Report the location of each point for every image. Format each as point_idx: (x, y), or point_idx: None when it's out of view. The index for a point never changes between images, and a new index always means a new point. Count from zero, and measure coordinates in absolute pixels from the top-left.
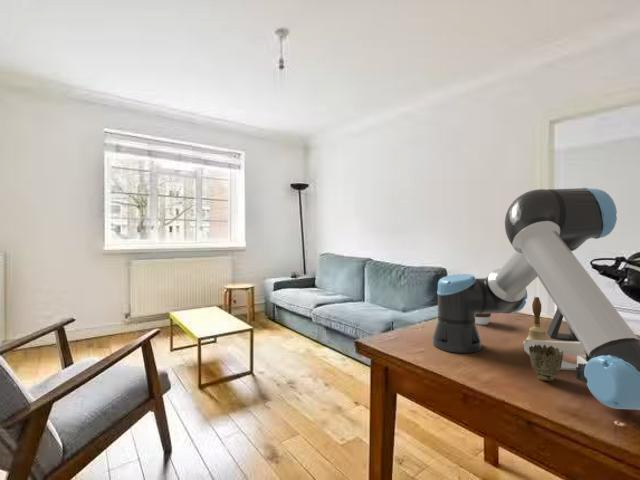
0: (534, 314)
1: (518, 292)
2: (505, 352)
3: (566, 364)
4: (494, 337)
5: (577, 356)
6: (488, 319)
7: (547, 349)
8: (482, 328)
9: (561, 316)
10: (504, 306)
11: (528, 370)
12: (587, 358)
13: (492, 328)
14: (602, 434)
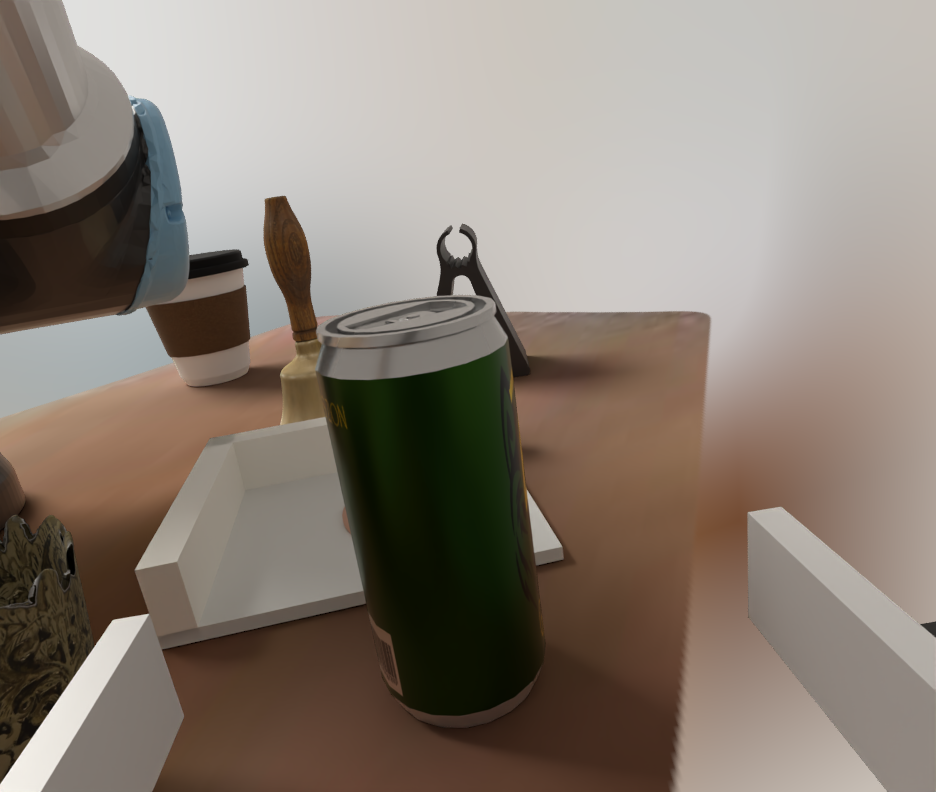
0: (282, 292)
1: (7, 138)
2: (98, 538)
3: (337, 565)
4: (179, 439)
5: (108, 631)
6: (236, 358)
7: (35, 552)
8: (191, 401)
9: (444, 285)
10: (20, 267)
11: None
12: (355, 550)
13: (233, 392)
14: None
